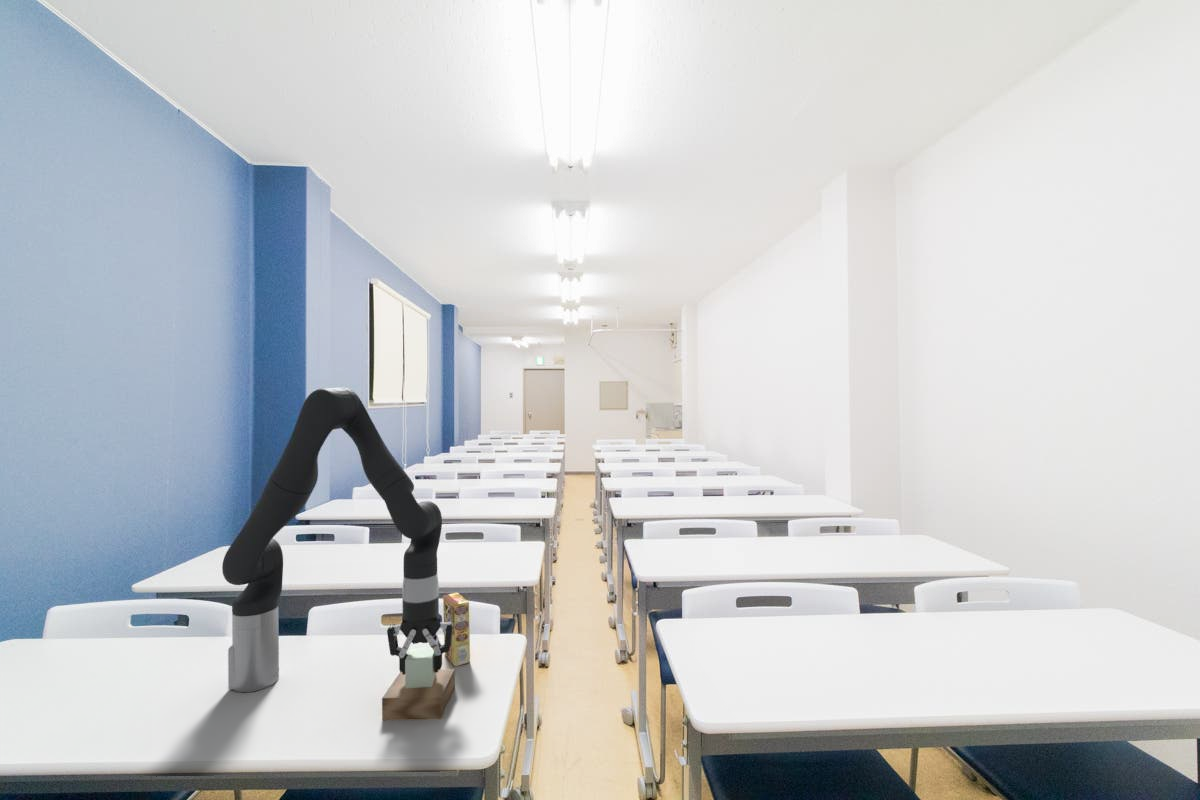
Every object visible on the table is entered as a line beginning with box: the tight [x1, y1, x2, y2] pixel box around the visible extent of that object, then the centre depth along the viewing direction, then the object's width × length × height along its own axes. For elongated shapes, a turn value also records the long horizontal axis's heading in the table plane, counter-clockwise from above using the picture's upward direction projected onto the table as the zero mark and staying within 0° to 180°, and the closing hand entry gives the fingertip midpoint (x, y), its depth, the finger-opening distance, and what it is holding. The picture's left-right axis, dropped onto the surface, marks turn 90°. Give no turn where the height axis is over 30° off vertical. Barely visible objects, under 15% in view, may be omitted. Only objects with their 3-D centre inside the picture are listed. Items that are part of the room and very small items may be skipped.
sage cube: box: [405, 647, 436, 689], centre depth 122 cm, size 6×6×6 cm
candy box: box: [442, 592, 471, 667], centre depth 142 cm, size 9×4×15 cm, turn 33°
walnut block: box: [381, 668, 456, 721], centre depth 121 cm, size 12×12×5 cm
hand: (421, 671), depth 122 cm, fingers open, 6 cm apart
